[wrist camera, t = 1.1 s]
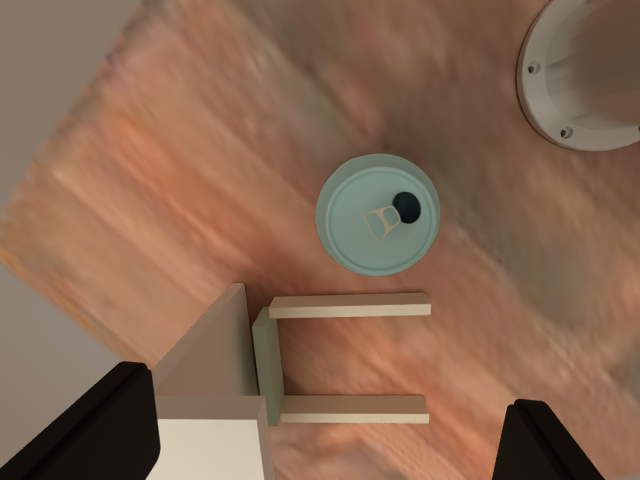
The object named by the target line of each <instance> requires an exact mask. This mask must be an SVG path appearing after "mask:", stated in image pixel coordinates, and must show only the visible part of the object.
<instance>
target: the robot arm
mask: <svg viewBox="0 0 640 480" xmlns="http://www.w3.org/2000/svg"><path fill="white" fill-rule="evenodd" d="M528 68H530V70H531V72H530V73H529V72H528ZM517 90H518V96H519V99H520V103H521V107H522V109H523V111H524V113H525V115H526V117H527V119H528V121H529V122H530V123H531V125H532V126H533V127H534V128H535V129H536V130H537V132H538V133H539V134H541V135H542V136H543V137H545V138H546V139H547V140H549V141H550V142H552V143H554V144H557V145H559V146H561V147H563V148H567V149H572V150H576V151H607V150H613V149H617V148H622V147H626V146H629V145H631V144H633V143H636V142H638V141H640V0H551V1H550V2H549V3H548V4H547V5H546V6H545V7H544V8H543V10H542V11H541V12H540V14H539V15H538V17H537V18H536V20H535V21H534V22H533V24H532V26H531V28H530V30H529V32H528V34H527V36H526V38H525V40H524V42H523V46H522V49H521V52H520V56H519V59H518V68H517ZM561 131H562V135H561ZM160 450H161V445H160V436H159V428H158V420H157V411H156V403H155V394H154V386H153V378H152V372H151V370H149V369H147V366H146V365H145V364H144V363H138V362H128V361H123V362H120V363H119V364H117V365H116V366H115V367H114V368H113V369H112V370H111V371H109V372H108V373H107V374H106V375H105V376H104V377H103V378H102V379H100V380H99V381H98V382H97V383H96V384H95V385H94V386H93V387H91V388H90V389H89V390H88V391H87V392H86V393H85V394H84V395H82V396H81V397H80V398H79V399H78V400H77V401H76V402H75V403H74V404H72V405H71V406H70V407H69V408H68V409H67V410H66V411H64V412H63V413H62V414H61V415H60V416H59V417H58V418H57V419H55V420H54V421H53V422H52V423H51V424H50V425H49V426H48V427H46V428H45V429H44V430H43V431H42V432H41V433H40V434H38V435H37V436H36V437H35V438H34V439H33V440H32V441H31V442H30V443H28V444H27V445H26V446H25V447H24V448H23V449H22V450H20V451H19V452H18V453H17V454H16V455H15V456H14V457H13V458H11V459H10V460H9V461H8V462H7V463H6V464H5V465H4V466H2V467H1V468H0V480H146V478H147V477H148V475H149V474H150V472H151V470H152V469H153V467H154V466H155V464H156V462H157V461H158V458H159V455H160ZM492 480H605V479H604V478H603V477H602V475H601V474H600V473H599V471H598V470H597V469H596V467H595V466H594V465H593V464H592V462H591V461H590V460H589V458H588V457H587V456H586V454H585V453H584V452H583V450H582V449H581V448H580V447H579V445H578V444H577V443H576V441H575V440H574V439H573V437H572V436H571V435H570V433H569V432H568V431H567V430H566V428H565V427H564V426H563V424H562V423H561V422H560V420H559V419H558V418H557V416H556V415H555V414H554V413H553V411H552V410H551V409H550V407H549V406H548V405H547V404H546V403H545V402H543V401H536V400H526V399H517V400H516V401H515V402H514V405H512V404H511V405H509V406H508V407H507V411H506V415H505V420H504V425H503V429H502V434H501V439H500V444H499V448H498V453H497V458H496V462H495V467H494V472H493V477H492Z"/></svg>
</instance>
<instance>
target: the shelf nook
mask: <svg viewBox="0 0 640 480" xmlns="http://www.w3.org/2000/svg"><path fill="white" fill-rule="evenodd" d="M401 315H431V304H430V302H429V300H428V299H427V297H426V295H425V293H424V292H422V293H387V294H352V295H317V296H282V297H274V299H273V301H272V302H271V304H270V306H269V307H263V308H262V310H261V312H260V313H259V315H258V317H257V319H256V321H255V322H254V324H253V326H252V332H253V341H254V349H255V357H256V365H257V373H258V381H259V389H260V396H258V390H257V382H256V374H255V366H254V358H253V349H252V341H251V333H250V325H249V317H248V309H247V301H246V293H245V285H244V283H232V284H231V285H230V286H229V287H228V288H227V289H226V290H225V291H224V293H223V294H222V295H221V296H220V297H219V298H218V299H217V300H216V301H215V302H214V303H213V304H212V306H211V307H210V308H209V309H208V310H207V311H206V312H205V313H204V314H203V315H202V316H201V317H200V319H199V320H198V321H197V322H196V323H195V324H194V325H193V326H192V327H191V328H190V329H189V330H188V332H187V333H186V334H185V335H184V336H183V337H182V338H181V339H180V340H179V341H178V342H177V343H176V344H175V346H174V347H173V348H172V349H171V350H170V351H169V352H168V353H167V354H166V355H165V356H164V357H163V359H162V360H161V361H160V362H159V363H158V364H157V365H156V366H155V367H154V368H153V369H152V370H151V372H152V378H153V386H154V394H155V403H156V411H157V420H158V428H159V436H160V445H161V450H160V455H159V458H158V461H157V462H156V464H155V466H154V467H153V469H152V470H151V472H150V474H149V475H148V477H147V478H146V480H275V478H274V470H273V461H272V453H271V444H270V436H269V428H268V426H277V423H278V419H279V415H280V419H281V422H321V423H429V413H428V410H427V407H426V404H425V400H424V397H423V395H285V394H284V384H283V375H282V365H281V355H280V345H279V336H278V326H277V318H312V317H357V316H401Z"/></svg>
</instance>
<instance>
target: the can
mask: <svg viewBox="0 0 640 480" xmlns="http://www.w3.org/2000/svg"><path fill="white" fill-rule="evenodd" d="M315 220H316V228H317V232H318V236H319V238H320V241H321V243H322V245H323V246H324V248H325V250H326V251H327V252H328V254H329V255H330V256H331V257H332V258H333V259H334V260H335V261H336V262H337V263H339V264H340V265H342V266H343V267H345V268H347V269H348V270H351V271H353V272H355V273H358V274H362V275H368V276H385V275H391V274H395V273H398V272H400V271H403V270H405V269H407V268H409V267H410V266H412V265H413V264H415V263H416V262H417V261H418V260H420V259H421V258H422V257H423V256H424V255H425V253H426V252H427V251H428V250H429V248H430V247H431V245H432V243H433V242H434V240H435V237H436V235H437V232H438V229H439V224H440V203H439V198H438V195H437V192H436V189H435V187H434V185H433V183H432V182H431V180H430V179H429V177H428V176H427V175H426V174H425V173H424V172H423V171H422V170H421V169H420V168H419V167H418V166H416V165H415V164H414V163H412V162H410V161H408V160H406V159H404V158H402V157H399V156H395V155H391V154H369V155H364V156H360V157H356V158H353V159H351V160H349V161H347V162H345V163H344V164H342V165H341V166H340V167H339V168H338V169H337V170H336V171H335V172H334V173H333V174H332V175H331V176H330V177H329V179H328V180H327V181H326V183H325V184H324V186H323V188H322V190H321V192H320V194H319V197H318V200H317V205H316V212H315Z"/></svg>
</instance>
